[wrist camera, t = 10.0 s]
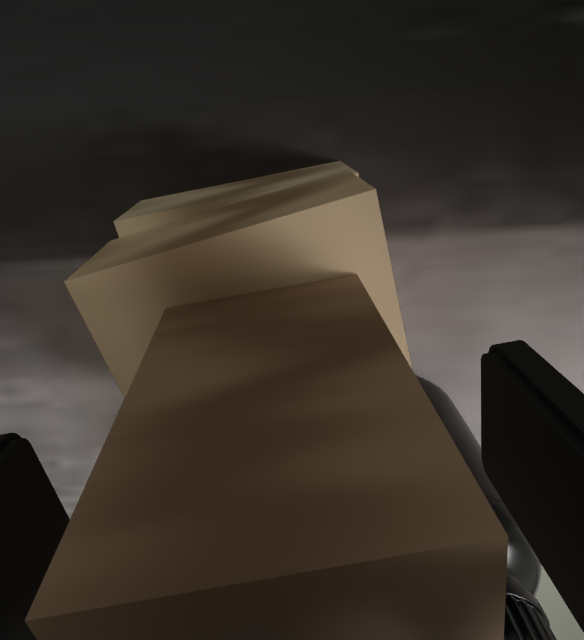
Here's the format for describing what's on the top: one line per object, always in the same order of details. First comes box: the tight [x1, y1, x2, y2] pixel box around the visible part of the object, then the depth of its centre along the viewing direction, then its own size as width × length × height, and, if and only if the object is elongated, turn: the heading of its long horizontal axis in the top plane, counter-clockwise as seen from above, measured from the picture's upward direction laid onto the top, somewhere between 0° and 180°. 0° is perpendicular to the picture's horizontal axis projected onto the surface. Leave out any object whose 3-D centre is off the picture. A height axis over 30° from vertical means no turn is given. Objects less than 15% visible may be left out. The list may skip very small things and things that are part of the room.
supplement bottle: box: [416, 376, 556, 640], centre depth 18 cm, size 7×7×12 cm
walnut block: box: [25, 274, 508, 640], centre depth 9 cm, size 5×5×8 cm
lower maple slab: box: [113, 161, 359, 238], centre depth 18 cm, size 8×8×4 cm
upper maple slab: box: [64, 170, 412, 398], centre depth 15 cm, size 8×8×4 cm
